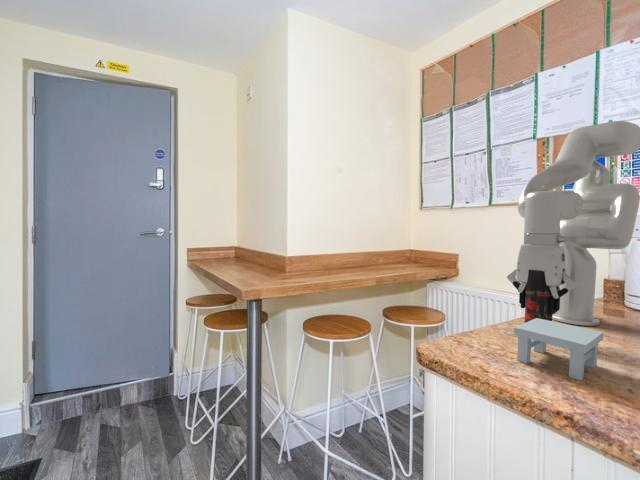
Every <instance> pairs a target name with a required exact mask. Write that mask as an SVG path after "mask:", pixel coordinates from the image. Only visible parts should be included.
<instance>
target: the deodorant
mask: <svg viewBox="0 0 640 480" xmlns="http://www.w3.org/2000/svg"><path fill="white" fill-rule="evenodd" d="M550 298H552V293H551V290H550V288H549V286H547V285H546V279H545V271H536V270H529V272H528V280H527V283H526V296H525V308H524V323H526V322H529V321H531V320H533V319H536V318H539V319H543V320H548V321H553V319H552V314H551V313H550Z"/></svg>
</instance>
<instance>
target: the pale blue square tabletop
mask: <svg viewBox="0 0 640 480" xmlns="http://www.w3.org/2000/svg"><path fill="white" fill-rule="evenodd" d="M513 329H514V330H513V333H514V334H513V335H514V336H518V337H517V339H518V340H517V352H516V353H517V356H516V357H517V358H516V360H517V361H518V362H520V363H523V364H528V363H530V362H531V353H532V352H531V350H532V348H533V351H534V352H537V353H540V354H545V353H546V352H547V344H548V345H553V346H557V347H559V348H560V347H561V348H564V349H568V350H569V351H570V352H569V368H568V378H571V379H575V380H578V381H582V380H583V379H584V378H585V377H584V375H585V374H584V373H585V366H586V367H589V368H593V369H595V368H596V367H597V366H598V365H597V364H598V350H599V349H598V348H599V343H600V342H602V341H603V340H604V331H599V330H595V329H589V328H585V327H581V326H577V325H572V324H568V323H563V322H561V323H560V322H558V321H557V322H556V321H554V320H552V321H548V320H543V319H539V318H536V319H533V320H531V321H529V322H526V323H525V322H523V323H522V324H519V325H517V326H515V327H514V328H513Z"/></svg>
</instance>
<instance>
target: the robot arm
mask: <svg viewBox="0 0 640 480" xmlns="http://www.w3.org/2000/svg"><path fill="white" fill-rule="evenodd" d="M639 150H640V126H639V125H638V124H636V123H633V122H630V121H624V120H615V121H608V122H603V123H597V124H592V125H586V126H581V127H578V128H575V129H573V130H572V131H571V132H569V133H568V134H567V135H566V138H565V139H564V142H563V144H562V146H561V148H560V150H559V153H558V155H557V157H556V159H555V161H554V163H552V164H550V165H548V166H547V167H545V168H543V169H542V170H540V171H539V172H537V174H535V175H533V176H532V177H531V178H530V179H529V180H528V181H527V182H526V184H525V185H524V187H523V189H522V192H521V194H520V196H519V199H518V202H517V211H518V214H519V215H520V217H521V218H523V219H524V225H523V226H524V227H523V228H524V232H523V233H524V234H523V243H522V244H521V246H520V247H519V251H518V256H517V262H516V269H514V270H513V271H511V273H509V274H508V275H507V276H506V279H507V280H508V281H509V282H510V283H511V284H512V286H513V287H514V288H515V289H516V290H517V292H518V293H519V297H518V299H519V300H518V301H519V302H518V303H519V304H520V308H521V309H525V296H526V283H527V280H528V272H529V270H536V271H545V279H546V285H547V286H549V288H550V290H551V293H552V298H550V313H551V314H552V321H555V322H556V321H557V322H559V323H560V322H561V323H563V324H568V325H574V326H584V327H585V326H587V327H588V326H589V327H593V326H594V327H596V326H599V325H601V320H600V319H599V318H598V317H596V316H594V312H595V311H594V310H595V309H594V308H595V296H596V282H597V281H596V278H597V261H596V259H595V257H594V256H593V255H592V254H591V253H590V251H589V250H588V249H600V250H602V249H603V250H622V249H625V248H627V247H628V246H629V245H630V243H631V241H632V238H633V234H634V231H635V225H636V221H637V217H638V216H637V215H638V211H639V207H640V192H639V190H638V188H637V187H636V186H635V185H634V184H630V183H625V182H624V183H623V182H622V183H621V182H619V183H610V182H611V179H612V173H611V172H610V170H609V169H608V168H607V167H606V166H605V165H604V164H602V163H601V162H599V161H597V160H596V159H600V158H601V159H602V158H610V157H618V156H627V155H633V154H635V153H637V152H638V151H639ZM572 183H574V184H573V186H572V190H558V191H557V190H555V189H558V188H562V187H563V186H564V187H565V186H567V185H570V184H572Z"/></svg>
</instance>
